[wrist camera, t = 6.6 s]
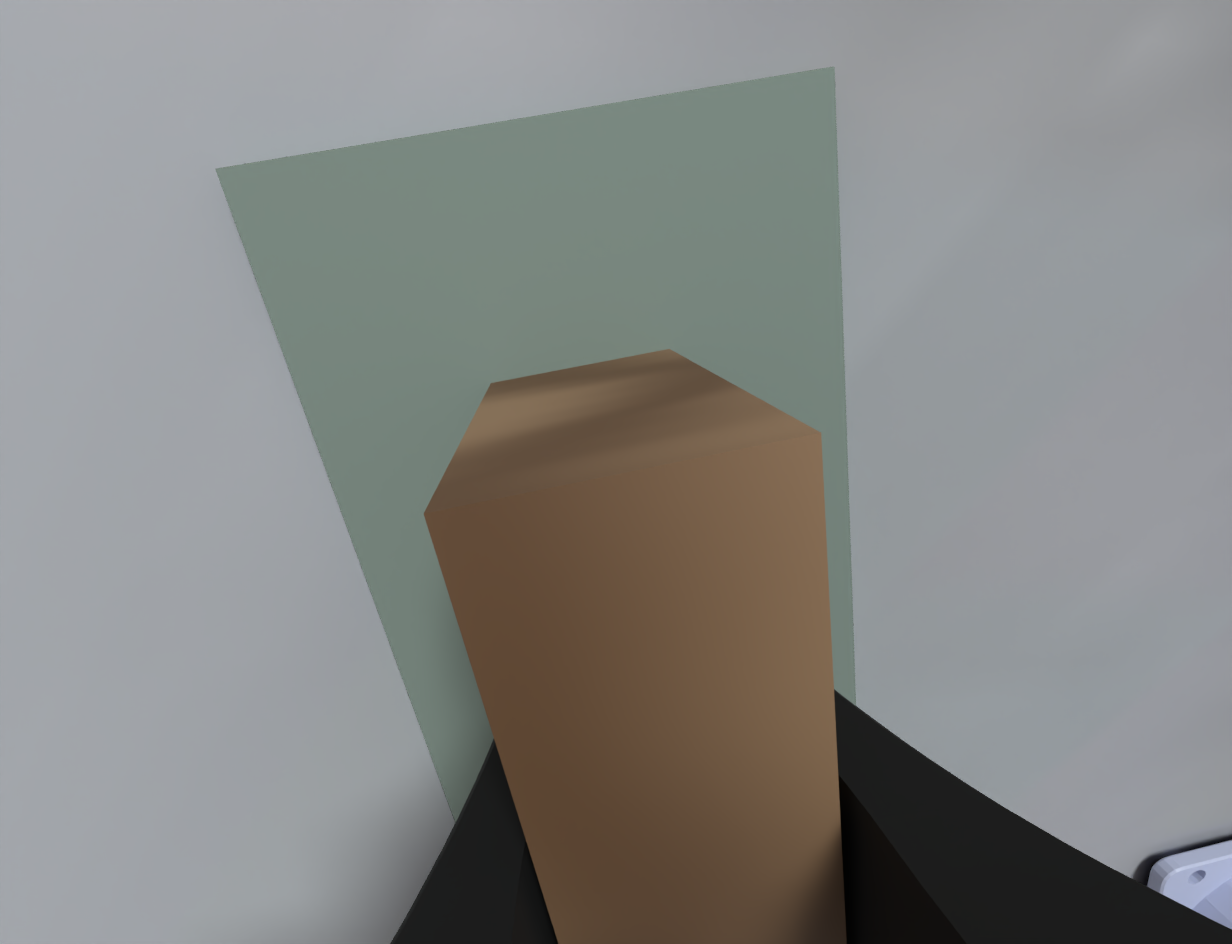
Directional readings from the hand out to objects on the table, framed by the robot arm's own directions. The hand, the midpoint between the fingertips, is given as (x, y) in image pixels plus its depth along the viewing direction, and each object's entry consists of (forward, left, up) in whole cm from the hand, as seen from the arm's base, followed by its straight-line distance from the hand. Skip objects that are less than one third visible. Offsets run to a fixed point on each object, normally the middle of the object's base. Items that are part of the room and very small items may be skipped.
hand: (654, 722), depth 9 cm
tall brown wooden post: (0, +1, -2) cm, 2 cm away
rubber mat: (0, 0, -3) cm, 3 cm away
